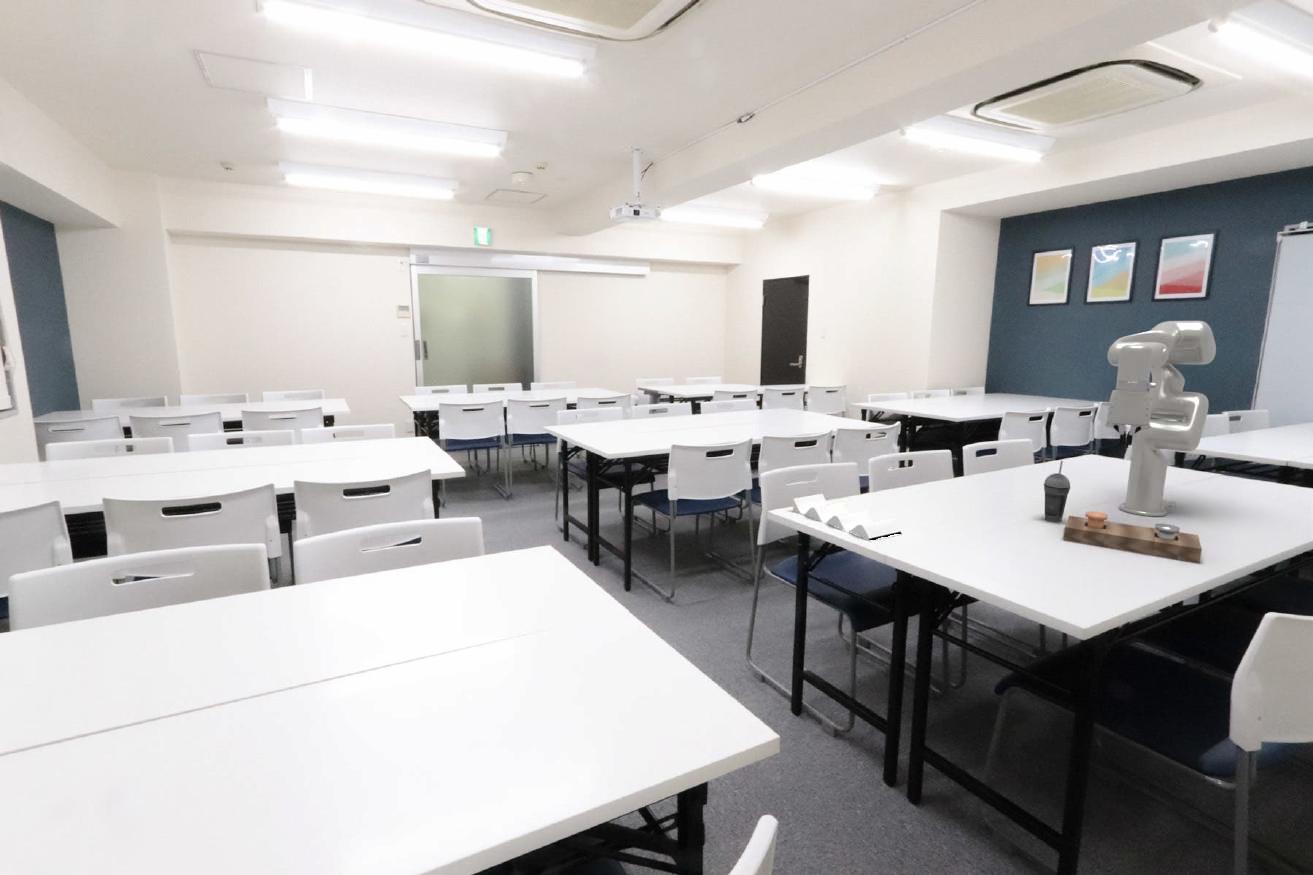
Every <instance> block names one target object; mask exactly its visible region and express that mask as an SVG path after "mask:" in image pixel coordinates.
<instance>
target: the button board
mask: <svg viewBox="0 0 1313 875" xmlns="http://www.w3.org/2000/svg"><path fill="white" fill-rule="evenodd" d="M1087 525H1088V517H1082V516H1081V517H1080V516H1073V515H1068V517H1067V520H1066V522H1065V525H1064V530H1063V539H1062V540H1063V541H1066V542H1073V543H1078V544H1084V545H1090V546H1096V547H1101V548H1106V549H1107V548H1108V549H1113V550H1117V551H1124V552H1131V553H1137V554H1142V555H1149V556H1155V557H1158V558H1159V557H1160V558H1166V559H1171V560H1175V561H1176V560H1177V561H1178V560H1179V561H1183V562H1188V561H1189V563H1193V562H1194V563H1195V564H1200V562H1201V556H1202V551H1203V550H1202V549H1203V548H1202V546H1201V542H1200V538H1199V535H1198V534H1193V533H1188V532H1181V531H1179V533H1176V535H1175V540H1170V539H1163V538H1157V534H1158V530H1157V529H1155V527H1153V528H1152V527H1146V526H1138V525H1132V524H1126V523H1119V522H1113V521H1109V520H1107V521H1106V520H1104V526H1103V529H1100V528H1093V527H1087ZM1194 563H1193V564H1194Z"/></svg>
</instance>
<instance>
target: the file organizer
mask: <svg viewBox="0 0 1313 875" xmlns="http://www.w3.org/2000/svg"><path fill="white" fill-rule="evenodd" d="M792 500H793V502H792V504H793V505H792V512H794V513H796V514H799V513H800V514H799V515H801V514H802V516H804V515H806V516H807V518H810V519H812V520H814V519H815V521H817V522H819V521H821V522H820V523H822V522H824V521H827V522H826V524H825V525H827V524H830V525H832V526H836V527H839V528H841V529H844V530H846V529H852V530H850V531H849V532H852V533H854V534H857V535H859V536H861V537H864V538H866V539H868V540H875V541H877V540H876V539H878V538H881V537H888V536H890V535H894V534H901V535H902V534H903V533H902V532H901V530H900V528H899V525H898V524H897V522H896V521H895V520H894V518H892V517H891V518H885V519H880V520H875V521H874V519H873V517H872V515H871V513H870V511H868V510H867V509H862V510H858V511H852V512H850V510H849V508H848V506H847V504H846V503H844V502H843V501H841V502H835V503H830V504H829V503H828V502H827V500H826V498H825V496H824V494H823V493H818V494H812V495H808V496H807V495H806V496H800V497H796V498H795V497H794V498H793V499H792ZM806 516H805V517H806ZM830 525H829V526H830ZM832 526H831V527H832ZM861 537H860V538H861ZM888 538H889V537H888ZM866 539H865V540H866ZM868 540H867V541H868Z"/></svg>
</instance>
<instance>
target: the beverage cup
mask: <svg viewBox="0 0 1313 875" xmlns="http://www.w3.org/2000/svg"><path fill="white" fill-rule="evenodd" d="M1063 462H1064V460H1061V461H1060V465H1059V468H1058V470H1059V471H1058V473H1051V474H1049V475H1048V476H1047V477H1046V478H1045V480H1044V483H1043V490H1044V520H1045V521H1046V522H1048V523H1054V524H1055V523H1056V524H1058V523H1062V521H1063V516H1064V513H1065V507H1066V503H1067V499H1068V494H1069V493H1070V490H1071V483H1070V479H1069V478H1068V477H1067V476H1066V475H1064V474H1062V468H1063Z"/></svg>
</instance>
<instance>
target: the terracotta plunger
mask: <svg viewBox="0 0 1313 875" xmlns="http://www.w3.org/2000/svg"><path fill="white" fill-rule="evenodd" d="M1085 518H1088V525H1087V527H1093V528H1100V529H1103V526H1104V521H1106V520H1107V521H1108V519H1109V515H1108V514H1106V513H1104V512H1099V511H1086V512H1085Z"/></svg>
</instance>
